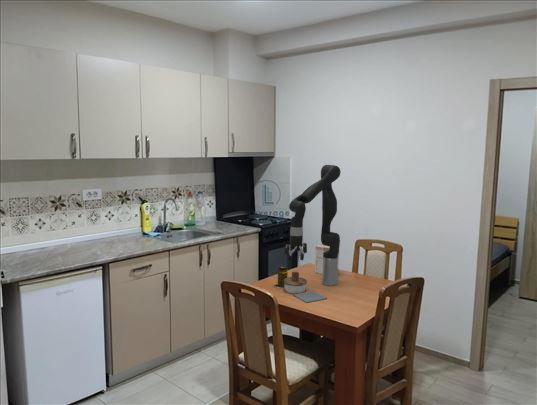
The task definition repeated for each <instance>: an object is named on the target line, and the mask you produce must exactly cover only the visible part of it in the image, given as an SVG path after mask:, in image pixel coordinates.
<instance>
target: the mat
mask: <svg viewBox="0 0 537 405" xmlns="http://www.w3.org/2000/svg"><path fill="white" fill-rule="evenodd" d="M292 296H293V297H295V298H297V299H299V300H301V301H302V302H305V303H306V304H309V303H313V302H318V301H324V300H328V298H327V297H326V296H325V295H322V294H320V293H318V292H316V291H314V290H310V291H305V292H303V293H298V294H292Z"/></svg>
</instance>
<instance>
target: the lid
mask: <svg viewBox="0 0 537 405" xmlns="http://www.w3.org/2000/svg"><path fill="white" fill-rule="evenodd" d="M284 283H285V284H286V285H290V286H302V285H305V284H306V285H307V283H308V280H307V279H306V278H303V277H300V273H299V272H298V271H291V276H289V277H288V276H287V278H285V279H284Z"/></svg>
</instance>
